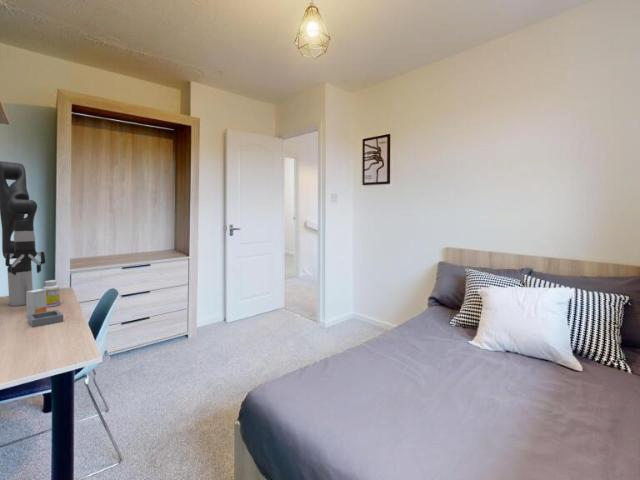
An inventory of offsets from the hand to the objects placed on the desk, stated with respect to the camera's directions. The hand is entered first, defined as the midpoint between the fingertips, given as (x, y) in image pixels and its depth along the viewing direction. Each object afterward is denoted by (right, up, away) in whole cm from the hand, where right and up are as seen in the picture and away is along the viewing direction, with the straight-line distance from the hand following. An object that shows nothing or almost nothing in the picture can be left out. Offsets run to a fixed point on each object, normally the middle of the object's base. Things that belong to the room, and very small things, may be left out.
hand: (26, 273), depth 157 cm
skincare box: (+10, -19, -6) cm, 23 cm away
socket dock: (+21, -20, -13) cm, 32 cm away
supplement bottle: (+3, -18, +11) cm, 21 cm away
